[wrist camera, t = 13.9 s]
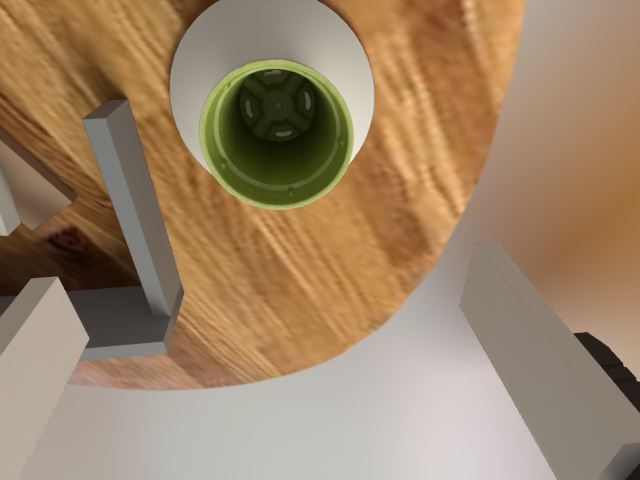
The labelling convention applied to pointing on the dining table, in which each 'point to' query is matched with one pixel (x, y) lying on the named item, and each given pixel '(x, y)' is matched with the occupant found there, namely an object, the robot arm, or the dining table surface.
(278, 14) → the mat
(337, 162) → the plant pot
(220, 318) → the dining table surface
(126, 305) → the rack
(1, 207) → the block
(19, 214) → the offcut bottom
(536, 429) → the robot arm
